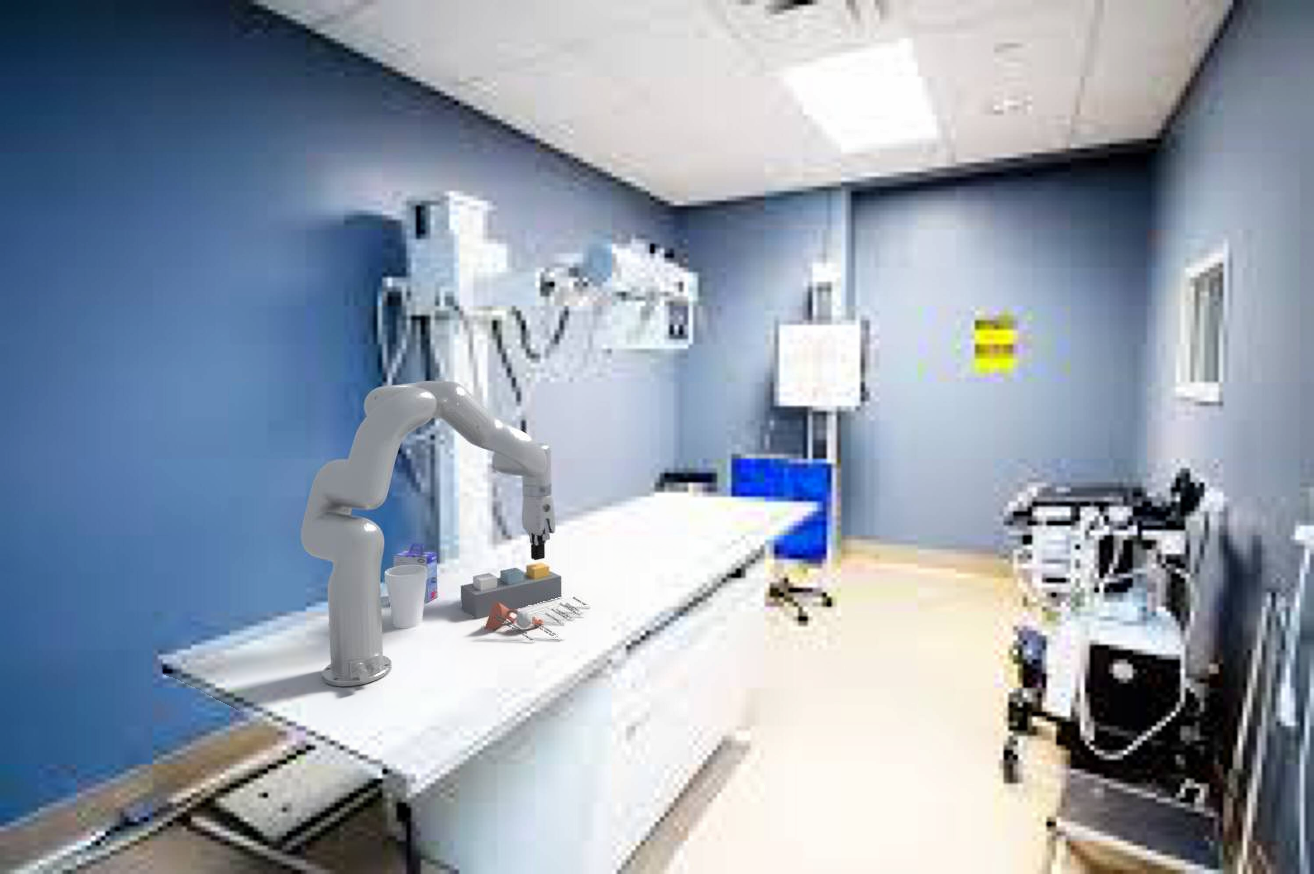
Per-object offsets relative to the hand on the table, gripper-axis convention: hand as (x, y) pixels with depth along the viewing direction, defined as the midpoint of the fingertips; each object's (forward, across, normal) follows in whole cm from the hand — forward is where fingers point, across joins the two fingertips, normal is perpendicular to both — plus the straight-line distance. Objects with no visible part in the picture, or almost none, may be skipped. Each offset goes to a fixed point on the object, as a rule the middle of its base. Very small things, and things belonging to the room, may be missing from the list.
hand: (537, 558), depth 179 cm
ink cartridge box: (+11, +19, +26) cm, 34 cm away
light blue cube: (+6, 0, +8) cm, 10 cm away
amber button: (+6, 0, 0) cm, 6 cm away
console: (+10, 0, +8) cm, 13 cm away
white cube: (+6, 0, +15) cm, 16 cm away
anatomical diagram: (+11, -17, +7) cm, 21 cm away
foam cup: (+11, +3, +34) cm, 35 cm away
